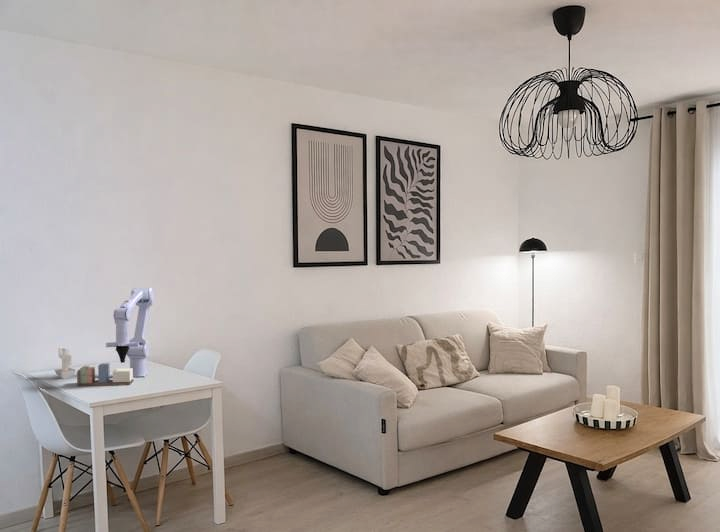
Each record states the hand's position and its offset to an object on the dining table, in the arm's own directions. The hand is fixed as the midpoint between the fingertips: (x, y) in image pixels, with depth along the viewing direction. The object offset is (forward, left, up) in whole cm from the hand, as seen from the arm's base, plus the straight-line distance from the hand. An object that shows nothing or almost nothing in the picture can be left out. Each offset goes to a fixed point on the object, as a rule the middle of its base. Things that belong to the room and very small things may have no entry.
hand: (122, 362), depth 290 cm
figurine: (-17, -31, -10) cm, 36 cm away
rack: (0, -8, -10) cm, 13 cm away
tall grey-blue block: (0, -8, -9) cm, 12 cm away
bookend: (0, 0, -9) cm, 9 cm away
